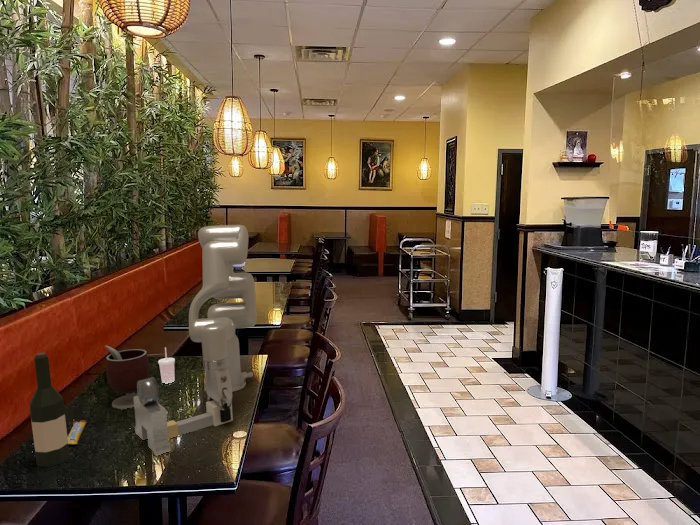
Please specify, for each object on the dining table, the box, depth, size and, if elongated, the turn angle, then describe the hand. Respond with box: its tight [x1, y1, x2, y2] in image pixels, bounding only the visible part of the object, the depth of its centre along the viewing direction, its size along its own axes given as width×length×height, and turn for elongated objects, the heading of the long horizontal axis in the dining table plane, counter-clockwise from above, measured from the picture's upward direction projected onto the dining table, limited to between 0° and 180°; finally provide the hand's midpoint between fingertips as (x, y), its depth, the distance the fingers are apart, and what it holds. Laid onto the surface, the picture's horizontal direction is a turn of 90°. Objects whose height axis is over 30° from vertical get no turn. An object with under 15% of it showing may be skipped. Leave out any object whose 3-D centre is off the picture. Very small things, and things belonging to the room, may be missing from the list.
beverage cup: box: [157, 347, 176, 384], centre depth 196 cm, size 6×6×14 cm
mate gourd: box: [104, 345, 151, 410], centre depth 178 cm, size 16×14×20 cm
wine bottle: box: [28, 352, 71, 468], centre depth 139 cm, size 8×8×30 cm
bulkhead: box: [133, 376, 172, 457], centre depth 147 cm, size 4×19×19 cm, turn 39°
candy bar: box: [67, 419, 87, 446], centre depth 155 cm, size 17×4×2 cm, turn 17°
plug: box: [167, 397, 234, 440], centre depth 157 cm, size 21×6×6 cm, turn 129°
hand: (219, 416), depth 161 cm, fingers open, 8 cm apart
